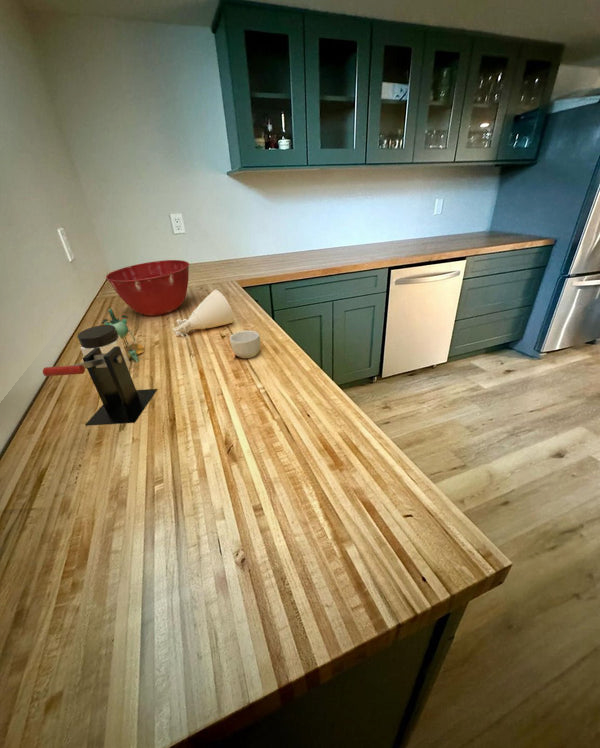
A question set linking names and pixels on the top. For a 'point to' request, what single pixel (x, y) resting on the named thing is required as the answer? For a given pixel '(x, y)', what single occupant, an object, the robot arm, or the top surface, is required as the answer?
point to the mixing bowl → (152, 286)
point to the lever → (76, 367)
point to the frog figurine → (123, 331)
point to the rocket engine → (207, 314)
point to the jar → (101, 340)
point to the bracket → (116, 390)
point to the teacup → (245, 343)
